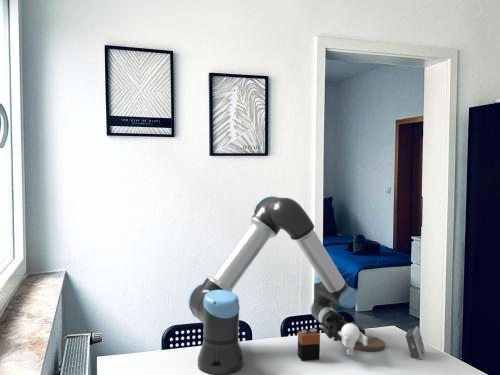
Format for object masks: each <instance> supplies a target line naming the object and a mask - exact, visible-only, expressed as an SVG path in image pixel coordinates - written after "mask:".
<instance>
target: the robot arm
mask: <svg viewBox="0 0 500 375" xmlns="http://www.w3.org/2000/svg"><path fill="white" fill-rule="evenodd" d="M250 224H251V225H250V226H249V228H247V230H246V231H245V233H244V234H243V235H242V236H241V238H240V239H239V241H238V242H237V243H236V244H235V246H234V247H233V249H232V250H231V251H230V253H229V255H228V256H227V257H226V259H225V260H224V261H223V263H222V264H221V265H220V266H219V268H218V269H217V270H216V272H215V273H214V275H213V276H208V277H206V278H205V280H204V282H202V284H199V285H197V286H195V287H193V288H192V290H191V291H190V293H189V295H188V299H187V300H188V301H187V305H188V308H189V310H190V312H191V314H192V316H194V317H195V318H196V319H197V320H198V321H200V322H201V323H202V324H203V332H202V333H203V338H202V339H203V341H202V345H201V347H200V352H199V354H198V356H197V367H198V369H199V370H201V371H202V372H204V373H207V374H211V375H229V374H233V373H236V372H238V371H240V370H241V369H243V367H244V355H243V353H242V349H241V348H242V347H241V345H240V341H239V335H240V334H239V330H240V326H239V324H240V308H241V307H240V306H241V305H240V299H239V297H238V296H237V294H235V293H234V292H233V289H234V288H235V287H236V286H237V284H238V283H239V282H240V280H241V278H242V277H243V275H245V273H246V272H247V270H248V269H249V267H250V266H251V264H252V263H253V261H254V260H255V259H256V258H257V256H258V255H259V254H260V252H261V251H262V249H263V248H264V246H265V245H266V244H267V243H268V241H269V240H270V239H272V238H275V237H276V236H277V235H278V234H279V232H281V230H283V231H284V232H285V233H287V235H288V236H289V237H290V240H292V241H296V243H297V245H298V246H299V248H300V249H301V251H302V253H303V254H304V256H305V257H306V259H307V260H308V262H309V264H310V265H311V267H312V268H313V270H314V271H315V273H316V274H315V275H314V279H313V280H314V281H313V302H312V303H311V305H310V308H309V310H310V314H311V315H312V317H313V318H314V319H315V320H317V321H318V322H319V323H320V326H319V327H320V328H319V329H320V331H323V333H324V334H325V335H326V336H327V338H329V339H333V340H334V342H341V344H342V345H343V346H344V347H346V346H348V338H347V337H346V336H345V335H344V334H342V333H341V329H342V327H343V326H344V325H345V324H347V323H348V321H345V320H344V318H343V316H342V315H341V313H339V312H337V311H336V310H335V309H334V308H333V304H335V305H337V306H340V307H341V308H346V309H353V308H354V307H355V306H357V305H358V301H359V294H358V292H357V291H356V289H353V287H350V286H349V285H348V284H347V282H346V281H345V279H344V278H343V276H342V274H341V272H340V271H339V269H338V267H337V265H336V263H334V260H333V259H332V257H331V256H330V255H329V253H328V251H327V250H326V248H325V246H324V245H323V243H322V241H321V240H320V238H319V237H318V235H317V232H316V231H315V225H314V223H313V221H312V219H311V218H310V216H309V215H308V214H307V212H306V211H305V209H304V208H303V207H302V206H301V205H300V204H299V203H298V201H296V200H294V199H292V198H290V197H278V196H273V195H271V196H265V197H263V198H261V199H259V200H258V201H257V203H256V204H255V206H254V208H253V215H252V216H251V218H250ZM351 323H352V324H354V325H356V326H357V327H358V329H359V331H360V336H359V339H358V340H359V341H360V342H361V343H363V344H364V345H365V346H367V337H366V336H365V335H366V329H365V328H364V327H362V326H360V325H358V324H357V323H356V322H355V321H351Z"/></svg>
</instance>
